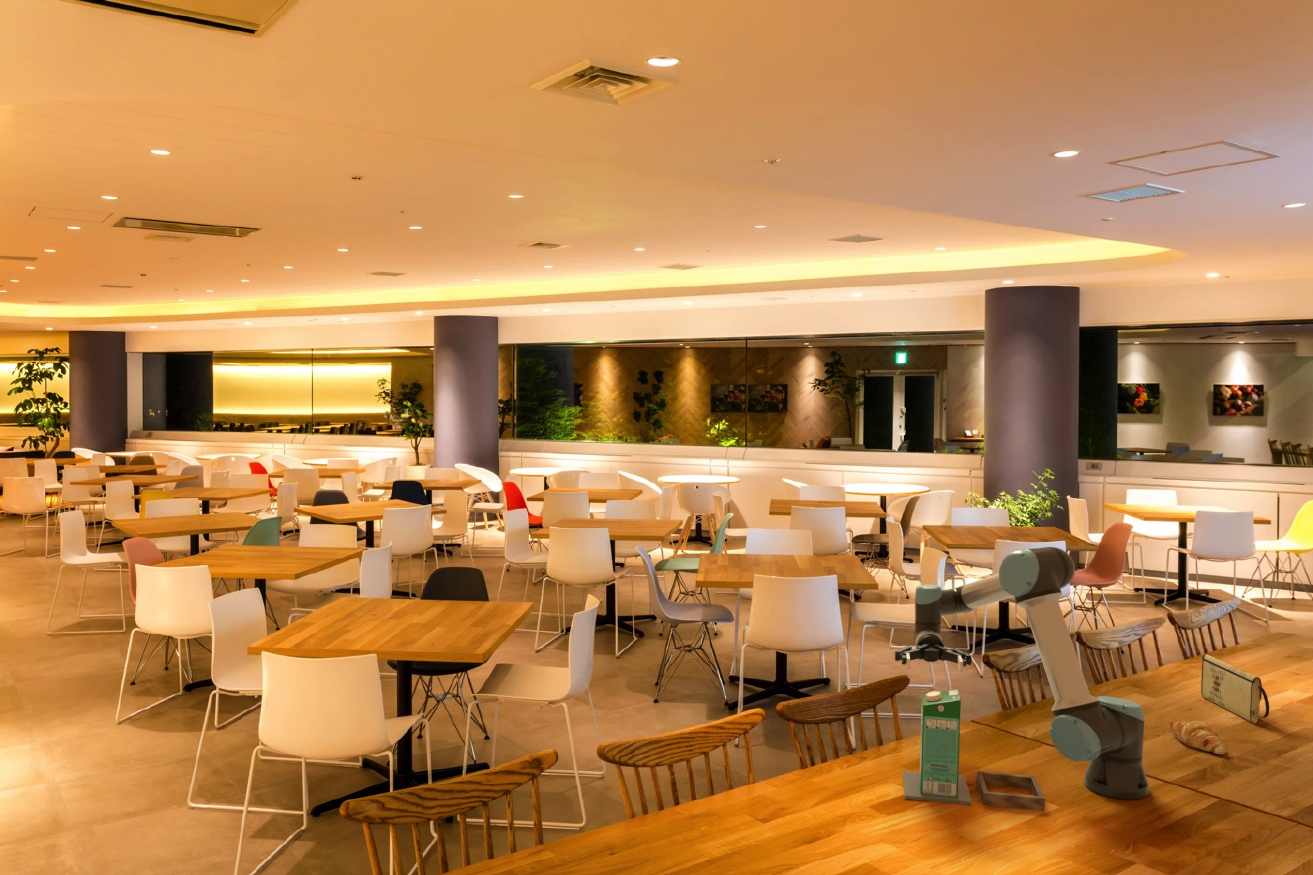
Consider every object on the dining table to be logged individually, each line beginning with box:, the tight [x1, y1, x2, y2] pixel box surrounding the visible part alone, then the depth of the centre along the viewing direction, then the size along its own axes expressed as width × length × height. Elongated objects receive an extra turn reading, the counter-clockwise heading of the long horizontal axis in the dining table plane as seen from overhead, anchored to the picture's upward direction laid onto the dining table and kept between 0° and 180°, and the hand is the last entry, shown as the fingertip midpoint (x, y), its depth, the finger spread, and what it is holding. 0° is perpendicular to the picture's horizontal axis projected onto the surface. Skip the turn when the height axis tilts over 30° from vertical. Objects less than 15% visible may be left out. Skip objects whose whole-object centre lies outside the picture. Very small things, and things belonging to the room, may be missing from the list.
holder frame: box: [976, 770, 1046, 812], centre depth 250 cm, size 14×14×3 cm
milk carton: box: [919, 688, 962, 797], centre depth 252 cm, size 9×9×25 cm
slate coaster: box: [902, 770, 972, 806], centre depth 254 cm, size 16×16×1 cm
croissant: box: [1169, 719, 1226, 755], centre depth 289 cm, size 21×10×8 cm, turn 13°
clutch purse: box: [1200, 653, 1270, 725], centre depth 320 cm, size 30×7×15 cm, turn 3°
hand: (934, 665), depth 263 cm, fingers open, 13 cm apart
